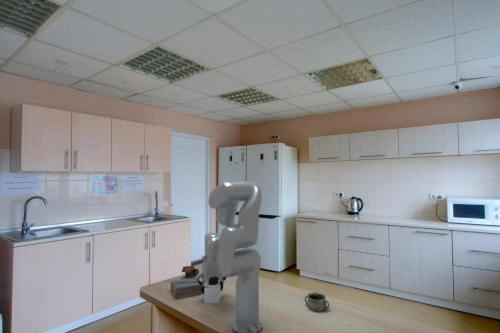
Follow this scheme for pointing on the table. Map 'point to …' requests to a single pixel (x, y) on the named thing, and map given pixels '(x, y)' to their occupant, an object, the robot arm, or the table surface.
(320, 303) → the vessel
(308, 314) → the table surface
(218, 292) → the medicine bottle
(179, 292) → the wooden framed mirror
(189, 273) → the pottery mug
